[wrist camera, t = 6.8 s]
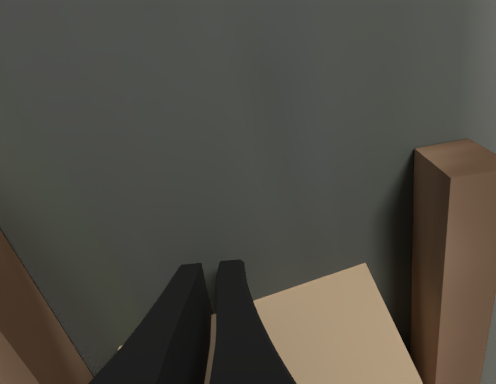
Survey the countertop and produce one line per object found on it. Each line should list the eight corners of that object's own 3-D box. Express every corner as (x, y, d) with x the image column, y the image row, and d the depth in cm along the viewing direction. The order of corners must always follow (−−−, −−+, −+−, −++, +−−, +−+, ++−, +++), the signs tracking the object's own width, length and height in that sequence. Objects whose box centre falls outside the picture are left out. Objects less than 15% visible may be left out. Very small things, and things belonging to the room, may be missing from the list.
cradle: (118, 465, 18) (104, 515, 16) (-46, 233, 11) (-99, 275, 10) (440, 426, 17) (464, 476, 15) (468, 138, 10) (516, 166, 8)
